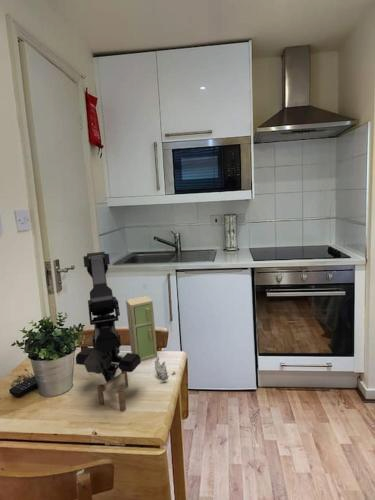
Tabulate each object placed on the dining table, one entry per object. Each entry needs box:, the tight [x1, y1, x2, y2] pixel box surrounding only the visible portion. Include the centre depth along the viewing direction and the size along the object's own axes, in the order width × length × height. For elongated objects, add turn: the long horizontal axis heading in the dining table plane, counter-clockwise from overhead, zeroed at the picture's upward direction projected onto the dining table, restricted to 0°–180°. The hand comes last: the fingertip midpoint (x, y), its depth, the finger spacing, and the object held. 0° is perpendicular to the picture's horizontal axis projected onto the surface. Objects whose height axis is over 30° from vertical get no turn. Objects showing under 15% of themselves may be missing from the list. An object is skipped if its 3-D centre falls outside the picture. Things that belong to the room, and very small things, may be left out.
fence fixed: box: [97, 384, 127, 412], centre depth 96 cm, size 9×2×6 cm, turn 61°
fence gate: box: [103, 370, 129, 393], centre depth 102 cm, size 9×2×5 cm, turn 146°
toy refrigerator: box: [125, 295, 158, 362], centre depth 123 cm, size 8×7×21 cm
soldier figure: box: [154, 356, 176, 382], centre depth 112 cm, size 8×5×12 cm
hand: (110, 385), depth 104 cm, fingers closed
